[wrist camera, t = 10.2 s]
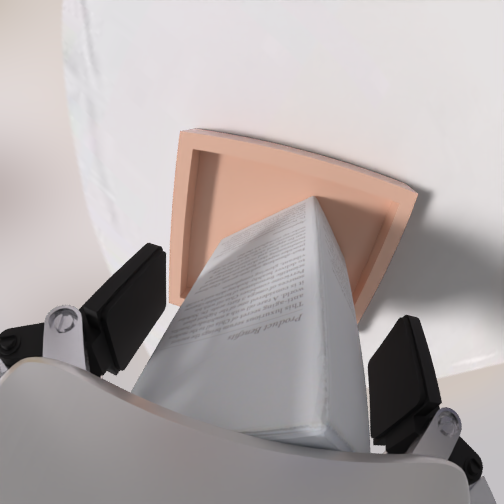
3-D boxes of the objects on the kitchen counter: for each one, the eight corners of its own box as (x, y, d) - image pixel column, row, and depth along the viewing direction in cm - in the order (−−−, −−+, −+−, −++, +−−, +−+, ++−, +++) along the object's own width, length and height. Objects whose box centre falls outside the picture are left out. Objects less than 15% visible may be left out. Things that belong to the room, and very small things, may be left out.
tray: (405, 183, 13) (418, 193, 11) (340, 329, 19) (342, 349, 17) (195, 128, 14) (180, 131, 12) (180, 286, 19) (168, 302, 18)
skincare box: (257, 292, 17) (197, 481, 7) (221, 237, 16) (105, 423, 6) (348, 257, 15) (373, 478, 5) (317, 191, 14) (324, 426, 3)
